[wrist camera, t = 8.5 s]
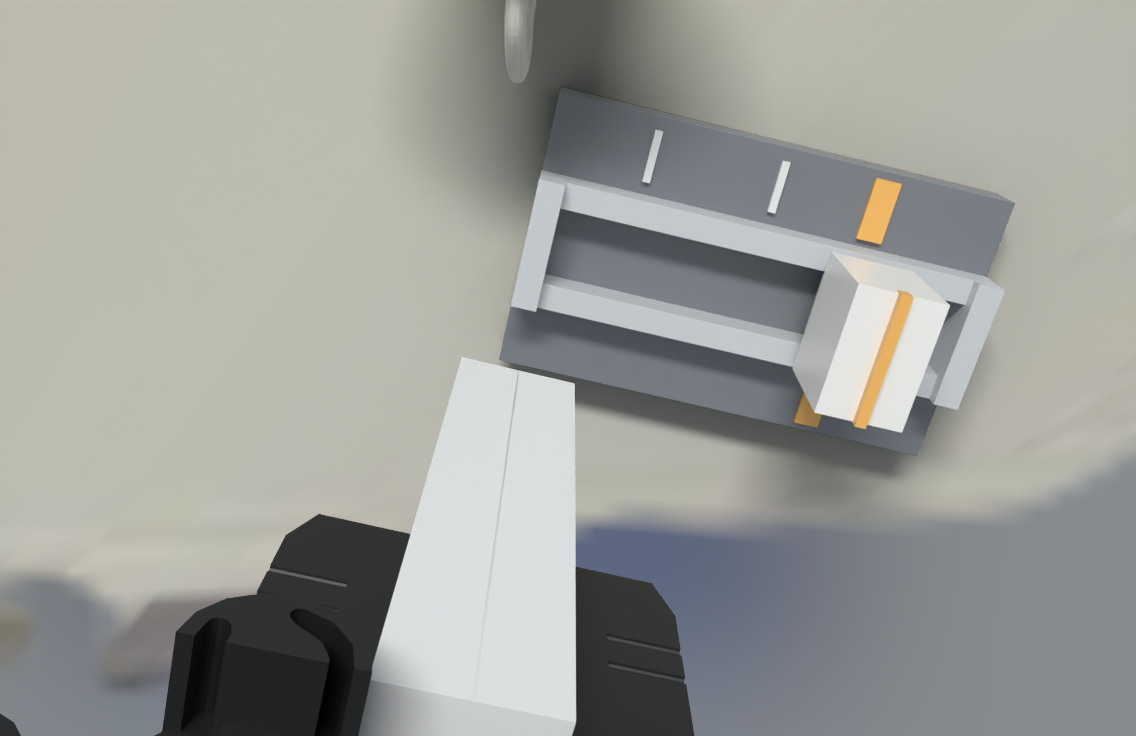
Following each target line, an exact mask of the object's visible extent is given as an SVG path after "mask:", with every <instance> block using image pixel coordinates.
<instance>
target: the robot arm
mask: <svg viewBox="0 0 1136 736" xmlns="http://www.w3.org/2000/svg"><path fill="white" fill-rule="evenodd" d="M679 653H680V643H679V637H678V631H677V624H676V618H675V615H674V614H673V613H672V611H671V609H670V608H669V607H668V605H667V604H666V603H665V601H664V600H663V598H662V597H661V596H660V594H659V593H658V592H657V590H656V589H655V587H654V586H653V585H652V583H648V582H643V581H638V580H633V579H629V578H625V577H620V576H616V575H611V574H607V573H602V572H597V571H593V570H588V569H583V568H579V567H575V383H570V382H566V381H562V380H558V379H553V378H549V377H545V376H540V375H536V374H532V373H528V372H523V371H519V370H515V369H511V368H506V367H502V366H498V365H493V364H489V363H485V362H481V361H476V360H472V359H468V358H463V357H462V359H461V362H460V366H459V369H458V373H457V376H456V379H455V383H454V386H453V390H452V393H451V397H450V400H449V404H448V407H447V410H446V414H445V417H444V421H443V424H442V428H441V431H440V435H439V438H438V441H437V445H436V448H435V452H434V455H433V459H432V462H431V466H430V469H429V472H428V476H427V479H426V483H425V486H424V490H423V493H422V497H421V500H420V503H419V507H418V510H417V514H416V517H415V521H414V524H413V528H412V531H411V534H408V533H403V532H398V531H394V530H389V529H385V528H380V527H376V526H371V525H367V524H362V523H357V522H353V521H348V520H344V519H339V518H335V517H330V516H325V515H321V514H318V515H317V516H315V517H314V518H312V519H311V520H309V521H307V522H306V523H304V524H303V525H301V526H300V527H298V528H296V529H295V530H293V531H292V532H290V533H289V534H287V535H286V536H285V538H284V540H283V542H282V544H281V546H280V548H279V550H278V552H277V553H276V555H275V557H274V559H273V561H272V563H271V565H270V569H269V571H267V573H266V575H265V577H264V579H263V581H262V583H261V585H260V587H259V589H258V591H257V594H256V595H248V596H241V597H234V598H227V599H224V600H222V601H220V602H217V603H215V604H213V605H211V606H208V607H206V608H204V609H201V610H199V611H197V612H196V613H194V614H193V615H192V616H191V617H190V618H189V619H188V620H187V621H186V622H185V623H184V624H183V625H182V626H181V627H180V628H179V629H178V630H177V631H176V636H175V643H174V650H173V658H172V665H171V672H170V679H169V687H168V694H167V701H166V709H165V716H164V723H163V730H162V732H161V733H159V734H157V735H155V736H694V731H693V725H692V718H691V712H690V706H689V700H688V693H687V687H686V684H684V678H685V675H684V669H683V662H682V656H680V655H679ZM0 736H21V735H20V733H19V731H18V729H17V728H16V725H15V724H14V722H12V721H11V720H9V719H8V718H6V717H4V716H3V715H1V714H0Z"/></svg>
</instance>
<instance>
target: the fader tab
mask: <svg viewBox="0 0 1136 736" xmlns="http://www.w3.org/2000/svg"><path fill="white" fill-rule="evenodd" d="M949 307H950V305H949V304H948V303H947V302H946V301H945V300H944V299H943V298H942V297H941V296H939V295H938V294H937V293H936V292H935V291H934V290H933V289H932V288H931V287H930V286H928V285H927V284H926V283H925V282H924V281H923V280H922V279H921V278H920V277H919V276H918V275H916V274H915V273H914V272H913V271H909V270H905V269H901V268H897V267H892V266H888V265H884V264H880V263H876V262H872V261H867V260H863V259H859V258H855V257H851V256H846V255H842V254H838V253H834V252H831V254H830V257H829V260H828V263H827V266H826V269H825V272H824V274H822V277H821V280H820V283H819V286H818V289H817V292H816V295H815V298H814V301H813V304H812V307H811V310H810V314H809V317H808V320H807V323H806V326H805V329H804V331H805V332H804V335H803V338H802V341H801V344H800V347H799V350H798V353H797V356H796V359H795V363H794V366H793V371H794V373H795V375H796V377H797V379H798V381H799V383H800V385H801V387H802V389H803V391H804V393H805V395H806V397H807V399H808V401H809V403H810V405H811V407H812V409H813V411H814V413H818V414H823V415H827V416H831V417H836V418H840V419H844V420H849V421H852V423H853V425H854V426H855V427H858V428H862V429H866V427H867V425H870V426H875V427H879V428H883V429H888V430H892V431H896V432H901V433H902V431H903V429H904V426H905V423H906V421H907V418H908V415H909V413H910V410H911V407H912V405H913V402H914V400H915V397H916V394H917V392H918V389H919V386H920V384H921V381H922V379H923V376H924V373H925V371H926V368H927V365H928V363H929V360H930V357H931V355H932V352H933V350H934V347H935V344H936V342H937V339H938V336H939V334H940V331H941V329H942V326H943V323H944V321H945V318H946V315H947V313H948V310H949Z"/></svg>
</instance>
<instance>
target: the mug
mask: <svg viewBox="0 0 1136 736" xmlns="http://www.w3.org/2000/svg"><path fill="white" fill-rule="evenodd" d="M536 1H537V0H505V21H504V44H505V64H506V69H507V74H508V77H509V79H510V80H511V81H512V82H513V83H515V84H518V83H522V82H523V81H524V80H525V78H526V76H527V74H528V71H529V66H530V61H531V54H532V44H533V25H534V16H535V10H536Z"/></svg>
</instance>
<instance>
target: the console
mask: <svg viewBox="0 0 1136 736" xmlns="http://www.w3.org/2000/svg"><path fill="white" fill-rule="evenodd" d="M1014 205H1015V203H1013V202H1011V201H1010V200H1008V199H1006V198H1004V197H1002V196H1000V195H998V194H996V193H992V192H988V191H984V190H980V189H976V188H972V187H968V186H964V185H959V184H955V183H951V182H947V181H943V180H939V179H935V178H931V177H927V176H923V175H919V174H914V173H910V172H906V171H902V170H898V169H894V168H890V167H886V166H882V165H878V164H874V163H870V162H865V161H861V160H857V159H853V158H849V157H845V156H841V155H837V154H833V153H829V152H825V151H821V150H816V149H812V148H808V147H804V146H800V145H796V144H792V143H788V142H784V141H780V140H776V139H771V138H767V137H763V136H759V135H755V134H751V133H747V132H743V131H739V130H735V129H731V128H727V127H722V126H718V125H714V124H710V123H706V122H702V121H698V120H694V119H690V118H686V117H682V116H678V115H673V114H669V113H665V112H661V111H657V110H653V109H649V108H645V107H641V106H637V105H633V104H628V103H624V102H620V101H616V100H612V99H608V98H604V97H600V96H596V95H592V94H588V93H584V92H579V91H575V90H571V89H567V88H563V87H561V89H560V92H559V96H558V100H557V105H556V109H555V114H554V118H553V123H552V127H551V132H550V136H549V140H548V145H547V149H546V154H545V158H544V163H543V167H542V171H541V174H540V178H539V182H538V186H537V191H536V195H535V200H534V204H533V208H532V213H531V217H530V222H529V226H528V231H527V235H526V240H525V244H524V248H523V253H522V257H521V262H520V266H519V271H518V275H517V280H516V284H515V288H514V293H513V297H512V302H511V309H510V314H509V318H508V322H507V327H506V331H505V336H504V340H503V345H502V349H501V353H500V358H499V360H502V361H506V362H510V363H515V364H519V365H523V366H528V367H532V368H536V369H541V370H545V371H550V372H554V373H558V374H563V375H567V376H571V377H576V378H580V379H584V380H589V381H593V382H598V383H602V384H606V385H611V386H615V387H619V388H624V389H628V390H632V391H637V392H641V393H646V394H650V395H654V396H659V397H663V398H667V399H672V400H676V401H680V402H685V403H689V404H694V405H698V406H702V407H707V408H711V409H715V410H720V411H724V412H728V413H733V414H737V415H741V416H746V417H750V418H755V419H759V420H763V421H768V422H772V423H776V424H781V425H785V426H789V427H794V428H798V429H803V430H807V431H811V432H816V433H820V434H824V435H829V436H833V437H837V438H842V439H846V440H851V441H855V442H859V443H864V444H868V445H872V446H877V447H881V448H885V449H890V450H894V451H898V452H903V453H907V454H912V455H916V456H917V454H918V452H919V449H920V446H921V444H922V441H923V439H924V436H925V434H926V431H927V428H928V426H929V423H930V421H931V418H932V416H933V413H934V410H935V408H936V405H939V406H943V407H947V408H952V409H956V410H958V408H959V405H960V403H961V400H962V398H963V395H964V393H965V390H966V388H967V385H968V383H969V380H970V378H971V375H972V373H973V370H974V368H975V365H976V363H977V360H978V358H979V355H980V353H981V350H982V347H983V345H984V342H985V340H986V337H987V335H988V332H989V330H990V327H991V325H992V322H993V320H994V317H995V315H996V312H997V310H998V307H999V305H1000V302H1001V300H1002V297H1003V295H1004V292H1005V290H1003V289H1002V288H1001V287H999V286H998V285H997V284H995V283H994V282H993V281H991V280H990V279H989V278H987V274H988V271H989V269H990V266H991V264H992V261H993V259H994V256H995V253H996V251H997V248H998V246H999V243H1000V241H1001V238H1002V235H1003V233H1004V230H1005V228H1006V225H1007V223H1008V220H1009V217H1010V215H1011V212H1012V210H1013V207H1014ZM831 252H834V253H838V254H842V255H846V256H851V257H855V258H859V259H863V260H867V261H872V262H876V263H880V264H884V265H888V266H892V267H897V268H901V269H905V270H909V271H913V272H914V273H915V274H916V275H918V276H919V277H920V278H921V279H922V280H923V281H924V282H925V283H926V284H927V285H928V286H930V287H931V288H932V289H933V290H934V291H935V292H936V293H937V294H938V295H939V296H941V297H942V298H943V299H944V300H945V301H946V302H947V303H948V304H949V305H950V307H949V310H948V313H947V315H946V318H945V321H944V323H943V326H942V329H941V331H940V334H939V336H938V339H937V342H936V344H935V347H934V350H933V352H932V355H931V357H930V360H929V363H928V365H927V368H926V371H925V373H924V376H923V379H922V381H921V384H920V386H919V389H918V392H917V394H916V397H915V400H914V402H913V405H912V407H911V410H910V413H909V415H908V418H907V421H906V423H905V426H904V429H903V431H902V433H901V432H896V431H892V430H888V429H883V428H879V427H875V426H870V425H867V427H866V429H862V428H858V427H855V426H854V425H853V423H852V421H849V420H844V419H840V418H836V417H831V416H827V415H823V414H818V413H814V411H813V409H812V407H811V405H810V403H809V401H808V399H807V397H806V395H805V393H804V391H803V389H802V387H801V385H800V383H799V381H798V379H797V377H796V375H795V373H794V371H793V366H794V363H795V359H796V356H797V353H798V350H799V347H800V344H801V341H802V338H803V335H804V332H805V331H804V329H805V326H806V323H807V320H808V317H809V314H810V310H811V307H812V304H813V301H814V298H815V295H816V292H817V289H818V286H819V283H820V280H821V277H822V274H824V272H825V269H826V266H827V263H828V260H829V257H830V254H831Z"/></svg>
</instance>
